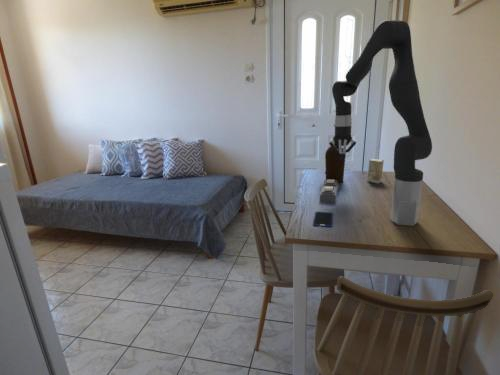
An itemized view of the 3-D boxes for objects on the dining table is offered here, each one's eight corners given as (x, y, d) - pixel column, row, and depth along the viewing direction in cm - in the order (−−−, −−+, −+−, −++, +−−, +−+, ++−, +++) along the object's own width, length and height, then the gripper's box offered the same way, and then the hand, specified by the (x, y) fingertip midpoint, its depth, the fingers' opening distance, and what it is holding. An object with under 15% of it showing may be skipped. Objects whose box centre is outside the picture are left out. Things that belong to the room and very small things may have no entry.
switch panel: (335, 202, 139) (335, 193, 138) (319, 201, 141) (320, 192, 140) (338, 187, 159) (338, 179, 157) (324, 186, 161) (324, 179, 160)
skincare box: (367, 181, 165) (368, 160, 161) (370, 179, 168) (371, 158, 164) (378, 183, 161) (380, 161, 157) (381, 181, 164) (383, 159, 160)
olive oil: (348, 181, 167) (350, 136, 159) (336, 185, 161) (337, 139, 153) (332, 177, 175) (334, 134, 168) (320, 181, 169) (321, 137, 162)
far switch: (334, 182, 151) (334, 180, 151) (326, 182, 152) (326, 179, 152) (334, 182, 156) (334, 179, 156) (327, 181, 157) (327, 179, 157)
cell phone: (312, 226, 117) (312, 225, 117) (315, 212, 130) (315, 211, 129) (332, 228, 115) (332, 226, 115) (333, 214, 128) (333, 212, 127)
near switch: (332, 191, 140) (332, 188, 140) (324, 190, 141) (324, 187, 141) (333, 189, 145) (333, 186, 145) (325, 188, 146) (325, 186, 146)
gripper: (328, 126, 142) (327, 162, 147) (357, 125, 137) (356, 162, 142) (329, 124, 148) (328, 159, 153) (357, 123, 144) (356, 159, 149)
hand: (342, 160), depth 148 cm, fingers closed
